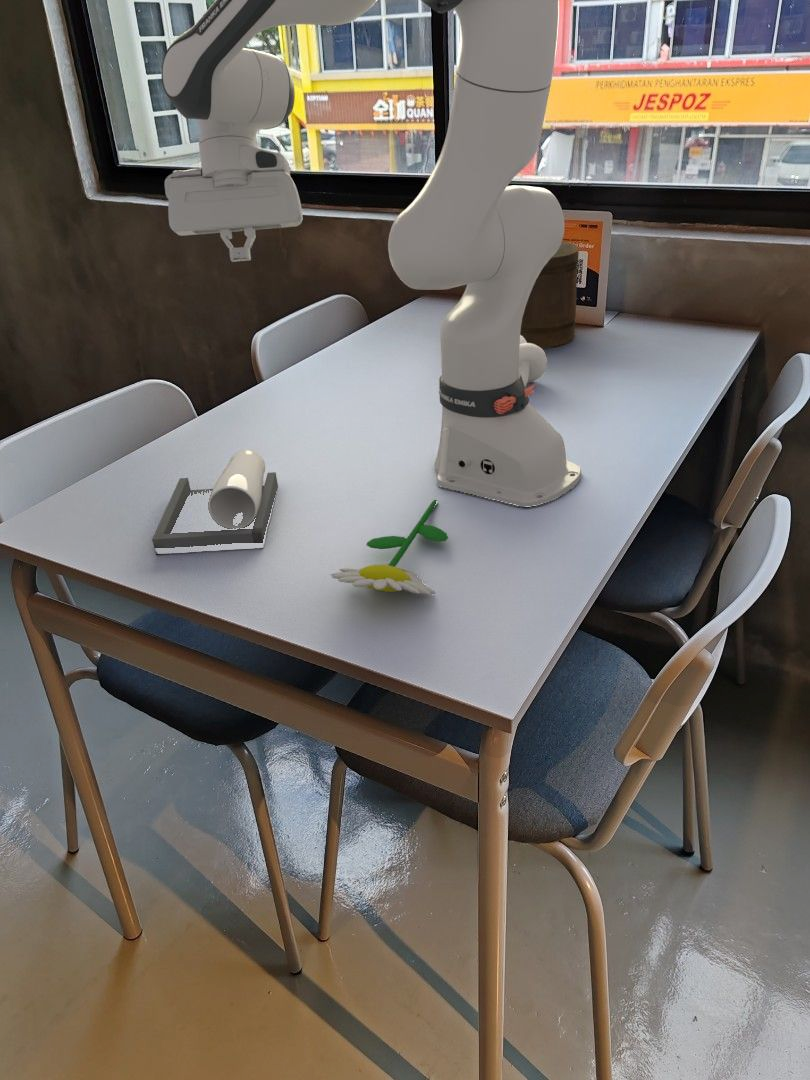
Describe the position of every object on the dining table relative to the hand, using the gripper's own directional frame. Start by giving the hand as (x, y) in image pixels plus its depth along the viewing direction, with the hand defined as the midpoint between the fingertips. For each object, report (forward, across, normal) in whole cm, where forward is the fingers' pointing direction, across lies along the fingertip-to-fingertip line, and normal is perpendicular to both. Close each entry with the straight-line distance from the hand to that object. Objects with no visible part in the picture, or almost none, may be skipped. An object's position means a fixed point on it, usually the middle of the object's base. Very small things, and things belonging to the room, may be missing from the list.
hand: (240, 260), depth 127 cm
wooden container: (+12, +53, +46) cm, 71 cm away
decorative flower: (+44, +22, -29) cm, 57 cm away
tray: (+38, -4, -17) cm, 42 cm away
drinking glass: (+31, -1, -8) cm, 32 cm away
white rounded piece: (+22, +44, +22) cm, 54 cm away
